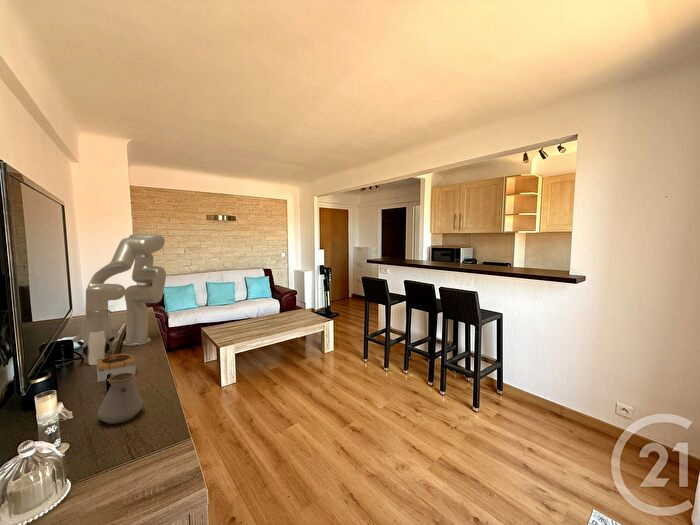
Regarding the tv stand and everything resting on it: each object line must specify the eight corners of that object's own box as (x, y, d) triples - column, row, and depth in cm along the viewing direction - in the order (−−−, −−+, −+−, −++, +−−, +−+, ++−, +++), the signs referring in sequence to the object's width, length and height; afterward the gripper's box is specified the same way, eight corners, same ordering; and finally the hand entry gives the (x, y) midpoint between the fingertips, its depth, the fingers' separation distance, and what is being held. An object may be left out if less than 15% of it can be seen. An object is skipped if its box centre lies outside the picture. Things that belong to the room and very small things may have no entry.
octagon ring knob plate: (96, 368, 125) (96, 356, 125) (131, 362, 133) (131, 350, 133) (97, 382, 113) (97, 368, 113) (135, 374, 121) (135, 361, 121)
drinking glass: (85, 363, 130) (86, 329, 129) (105, 359, 135) (105, 327, 134) (87, 367, 125) (87, 333, 125) (107, 363, 130) (108, 330, 130)
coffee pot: (97, 414, 92) (98, 368, 92) (141, 403, 100) (142, 360, 99) (95, 451, 76) (95, 395, 75) (148, 435, 83) (149, 384, 83)
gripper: (121, 310, 138) (120, 347, 138) (70, 314, 126) (70, 355, 127) (122, 313, 132) (121, 352, 133) (69, 318, 120) (69, 360, 121)
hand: (96, 353), depth 130 cm, fingers closed on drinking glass, 6 cm apart
